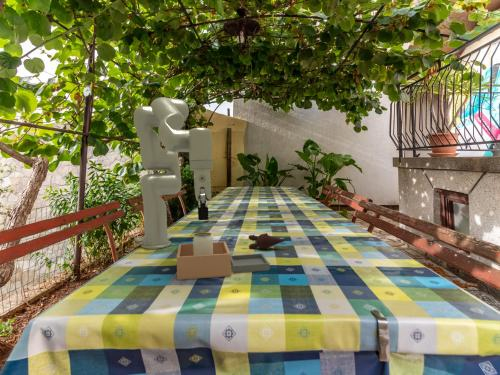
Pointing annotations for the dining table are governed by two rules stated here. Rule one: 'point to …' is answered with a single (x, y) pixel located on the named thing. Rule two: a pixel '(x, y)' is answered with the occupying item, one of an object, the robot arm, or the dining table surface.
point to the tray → (249, 263)
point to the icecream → (264, 241)
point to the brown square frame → (203, 262)
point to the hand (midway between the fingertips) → (203, 217)
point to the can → (203, 244)
